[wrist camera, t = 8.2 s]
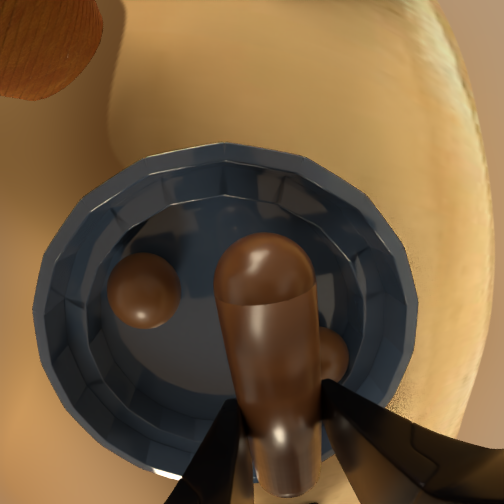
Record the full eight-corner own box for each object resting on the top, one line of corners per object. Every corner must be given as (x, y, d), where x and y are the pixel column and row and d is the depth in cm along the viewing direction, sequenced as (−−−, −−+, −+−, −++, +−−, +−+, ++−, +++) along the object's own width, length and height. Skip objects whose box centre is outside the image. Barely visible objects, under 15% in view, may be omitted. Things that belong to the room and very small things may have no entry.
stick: (310, 456, 10) (328, 497, 8) (255, 470, 10) (266, 513, 8) (293, 220, 8) (329, 232, 6) (204, 234, 8) (204, 254, 5)
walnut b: (316, 367, 15) (361, 382, 12) (272, 389, 13) (317, 411, 11) (313, 315, 15) (361, 323, 12) (266, 331, 13) (315, 346, 10)
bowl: (365, 397, 16) (395, 443, 12) (133, 436, 15) (121, 488, 11) (356, 142, 13) (409, 129, 9) (48, 198, 12) (-8, 205, 8)
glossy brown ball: (195, 284, 13) (194, 331, 10) (139, 305, 13) (129, 352, 11) (162, 227, 12) (150, 268, 9) (104, 255, 12) (82, 298, 9)
